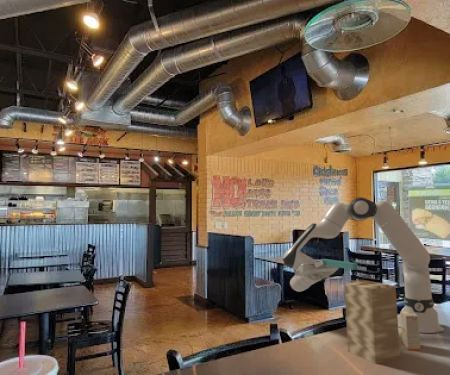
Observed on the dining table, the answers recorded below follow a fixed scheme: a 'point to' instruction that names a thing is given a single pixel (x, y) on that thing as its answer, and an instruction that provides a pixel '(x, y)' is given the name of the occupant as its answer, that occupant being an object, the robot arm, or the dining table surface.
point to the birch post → (372, 320)
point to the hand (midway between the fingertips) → (326, 261)
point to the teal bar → (341, 264)
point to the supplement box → (410, 330)
